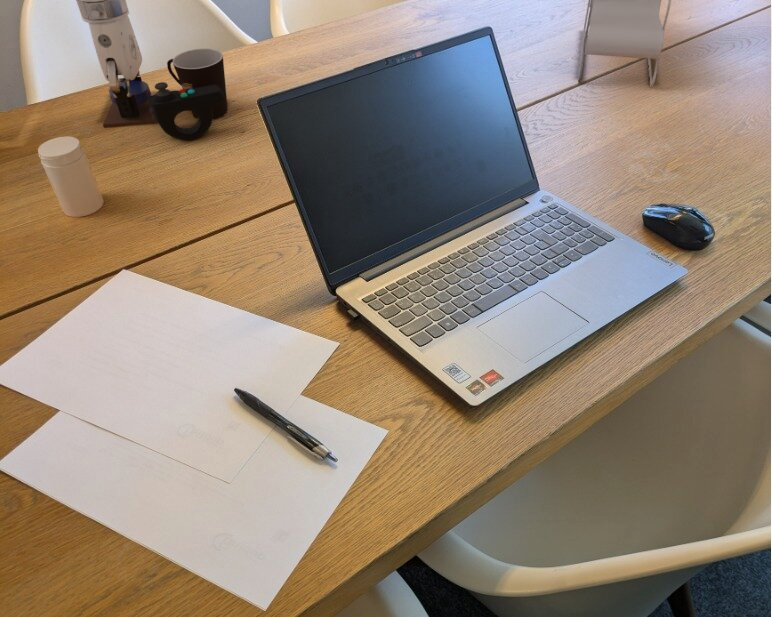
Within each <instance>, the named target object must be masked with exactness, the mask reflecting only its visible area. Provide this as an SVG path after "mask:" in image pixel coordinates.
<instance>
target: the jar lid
mask: <svg viewBox="0 0 772 617" xmlns="http://www.w3.org/2000/svg"><path fill="white" fill-rule="evenodd" d="M119 84H120V86H123V87H124V88H125V83H124V82H119ZM129 84H130V89H131V95H134V97H135V101H136V104H137V105H140V104H142V103H145V102H146V101H148V98H149V97H150V96H151V95H152V92H151V89H150V86H149V84H148V83H147V82H145V81H143V80H142V81H138V80H135V81H129ZM108 94H109V98H110V100H111V104H112V103H114V104H115V105H117V103H116V100H115V98H114V95H113V92H112V90H111V88H110V87H109V89H108Z"/></svg>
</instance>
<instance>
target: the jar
mask: <svg viewBox="0 0 772 617" xmlns="http://www.w3.org/2000/svg"><path fill="white" fill-rule="evenodd" d="M37 154H38V157H39V158H40V164H41V166H42V167H43V170H44V172H45V175H46V177H47V179H48V181H49V183H50V186H51V188H52V191H53V192H54V194H55V197H56V199H57V201H58V204H59V206H60V208H61V210H62V213H63V214H64V215H66V217H67V216H68V217H70V218H80V217H81V218H82V217H85V216H89V215H92V214H94V213H97V211H99V210H100V209H102V207H103V205H104V202H105V199H104V197H103V195H102V192H101V189H100V187H99V184H98V181H97V179H96V177H95V174H94V171H93V169H92V166H91V164H90V161H89V159H88V156H87V154H86V151H85V149H84V148H83V147H82V144H81V142H80V139H78V138H76V137H74V136H58V137H54V138H50V139H49V140H47V141H44V142H43V143H42V144H40V145H39V146H38V148H37Z"/></svg>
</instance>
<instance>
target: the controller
mask: <svg viewBox="0 0 772 617" xmlns="http://www.w3.org/2000/svg"><path fill="white" fill-rule="evenodd" d="M168 87H169V84H168V83H167V82H164V81H161V82H158V83H157V82H156V83H155V84H154V89H156V90H157V91H156V93H155V94H151V96H150V97H149V98H148V101H149V104H150V106H151V107H152V108H150V112H151V114H152V117H153V120H157V122H158V123H157V124H158V126H159V127H160V129H161V130H162V131H163V132H164V133H165V134H166V135H168V136H170V137H171V138H173V139H176V140H179V141H190V140H191V141H192V140H195V139H198V138H200V137H202V136H203V135H205V134H206V132H208V131H209V129H210V128H211V126H212V124H213V108H214V107H216V106H217V105H219V104H220V103H222V102H223V101H224V98H225V97H224V94H223V92H222V91H221V89H220V88H219V86H218V85H215V84H214V85H208V86H203V87H197V88H191V89H183V88H181V89H179V90H169V89H167V88H168ZM191 111H192V112H194V113H196V114H197V115H198V119H196V122H195V123H194V125H192V126H190V127H181V126H179V125H178V124H176V121H175V120H176V118H177V116H178V115H179V114H180V113H182V112H191ZM192 112H191V113H192Z"/></svg>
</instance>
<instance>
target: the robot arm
mask: <svg viewBox="0 0 772 617" xmlns="http://www.w3.org/2000/svg"><path fill="white" fill-rule="evenodd" d="M75 1H76V4H77V8H78V10H79V13H80V16H81V19H82V21H83V22H85V23H88V26H89V31H90V35H91V38H92V43H93V46H94V49H95V53H96V56H97V59H98V62H99V66H100V69H101V72H102V74H103V77H104V79H105V81H107V82H108V87H109V89H110V88H111V90H112V92H113V95H114V98H115V100H116V103H117V106H118V109H119V112H120V115H121V117H122V118H133V117H139V115H140V114H139V110H138V107H137V104H136V101H135V97H134V95H131V89H130V84H129V81H135V80H138V81H143V80H142V76H141V73H140V68H141V66H142V62H143V55H142V52H141V49H140V47H139V43H138V40H137V37H136V34H135V31H134V28H133V26H132V22H131V20H130V18H129V14H130V11H129V7H128V4H127V0H75ZM119 76H122V78H119ZM121 82H124V83H125V88H124V87H123V86H120V84H119V83H121Z"/></svg>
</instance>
